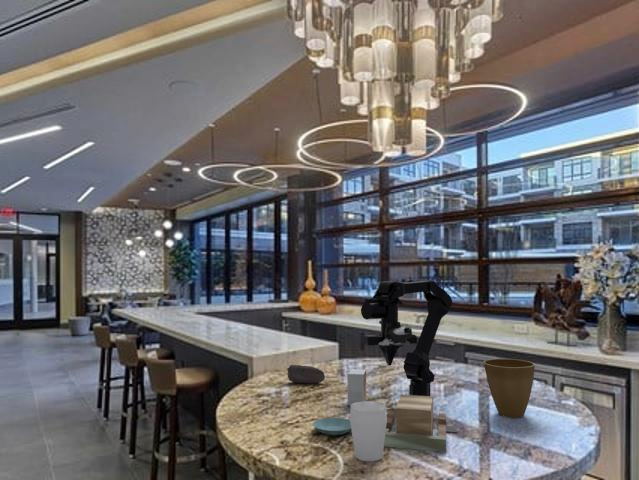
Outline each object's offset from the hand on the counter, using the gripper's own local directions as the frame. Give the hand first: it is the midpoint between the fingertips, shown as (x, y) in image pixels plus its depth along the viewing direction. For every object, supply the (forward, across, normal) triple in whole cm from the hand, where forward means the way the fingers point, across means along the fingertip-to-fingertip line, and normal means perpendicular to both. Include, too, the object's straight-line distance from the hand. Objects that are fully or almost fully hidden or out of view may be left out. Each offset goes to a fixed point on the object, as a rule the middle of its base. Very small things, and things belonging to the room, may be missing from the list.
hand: (389, 365), depth 160 cm
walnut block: (+14, -7, -28) cm, 32 cm away
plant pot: (+13, +30, -23) cm, 40 cm away
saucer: (+14, -27, -16) cm, 35 cm away
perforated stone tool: (+14, -16, +40) cm, 45 cm away
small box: (+14, -9, +6) cm, 17 cm away
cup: (+14, -26, -36) cm, 47 cm away
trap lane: (+13, -6, -25) cm, 29 cm away
